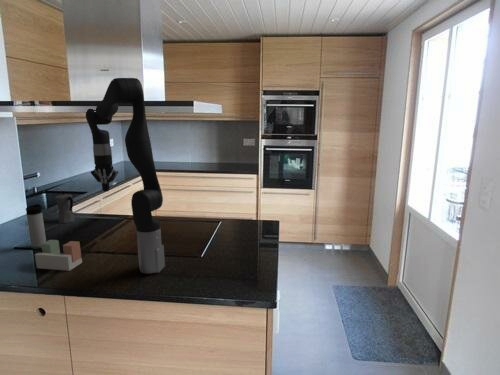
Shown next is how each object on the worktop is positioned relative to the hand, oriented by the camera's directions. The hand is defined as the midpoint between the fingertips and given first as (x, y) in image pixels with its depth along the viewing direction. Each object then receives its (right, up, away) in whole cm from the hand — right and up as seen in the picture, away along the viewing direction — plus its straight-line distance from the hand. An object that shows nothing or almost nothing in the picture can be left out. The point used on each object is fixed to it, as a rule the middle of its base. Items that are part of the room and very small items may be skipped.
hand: (106, 191), depth 158 cm
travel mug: (-34, -27, +6) cm, 44 cm away
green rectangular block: (-18, -28, -13) cm, 36 cm away
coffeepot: (-41, -18, +43) cm, 63 cm away
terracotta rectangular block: (-8, -29, -14) cm, 33 cm away
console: (-13, -31, -14) cm, 36 cm away
